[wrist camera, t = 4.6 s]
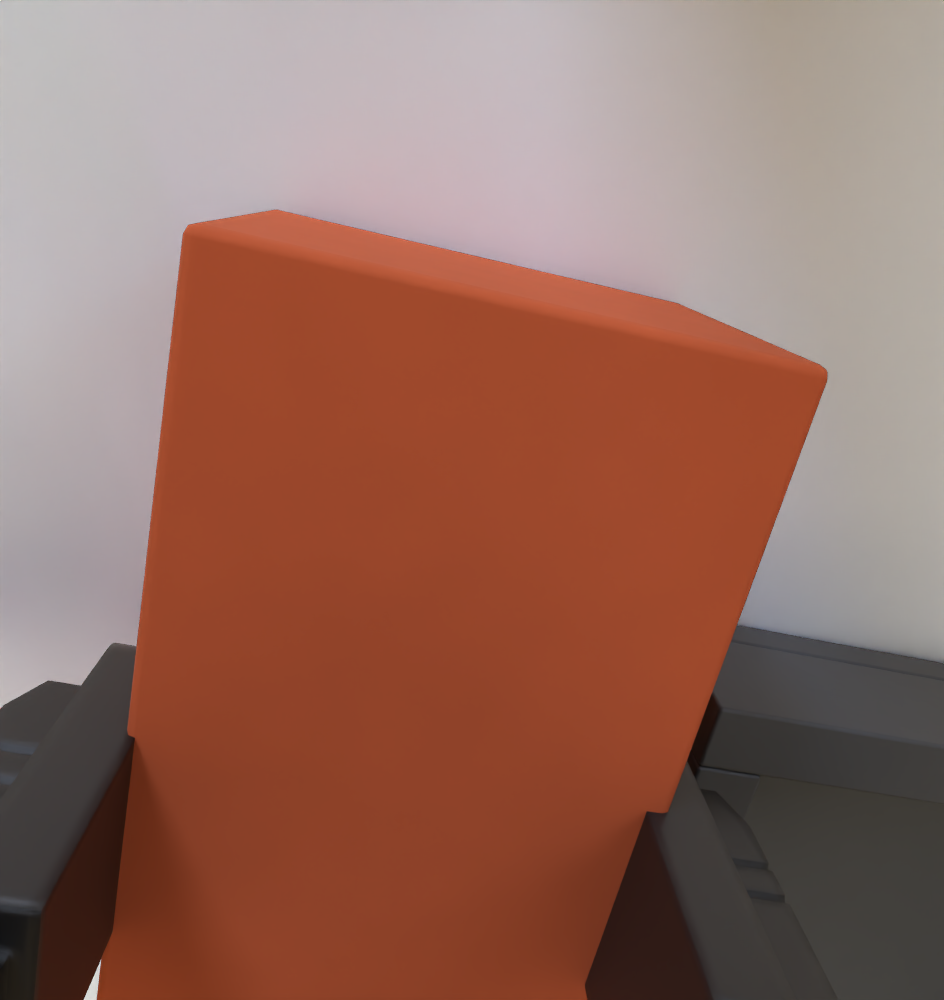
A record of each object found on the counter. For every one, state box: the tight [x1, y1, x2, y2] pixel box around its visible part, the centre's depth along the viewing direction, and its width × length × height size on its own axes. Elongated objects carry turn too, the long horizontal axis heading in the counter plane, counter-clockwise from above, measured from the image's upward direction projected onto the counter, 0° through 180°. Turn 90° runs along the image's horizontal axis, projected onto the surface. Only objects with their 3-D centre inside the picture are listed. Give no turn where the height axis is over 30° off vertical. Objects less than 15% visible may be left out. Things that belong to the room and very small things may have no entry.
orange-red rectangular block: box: [97, 210, 827, 1000], centre depth 10 cm, size 10×5×4 cm, turn 167°
